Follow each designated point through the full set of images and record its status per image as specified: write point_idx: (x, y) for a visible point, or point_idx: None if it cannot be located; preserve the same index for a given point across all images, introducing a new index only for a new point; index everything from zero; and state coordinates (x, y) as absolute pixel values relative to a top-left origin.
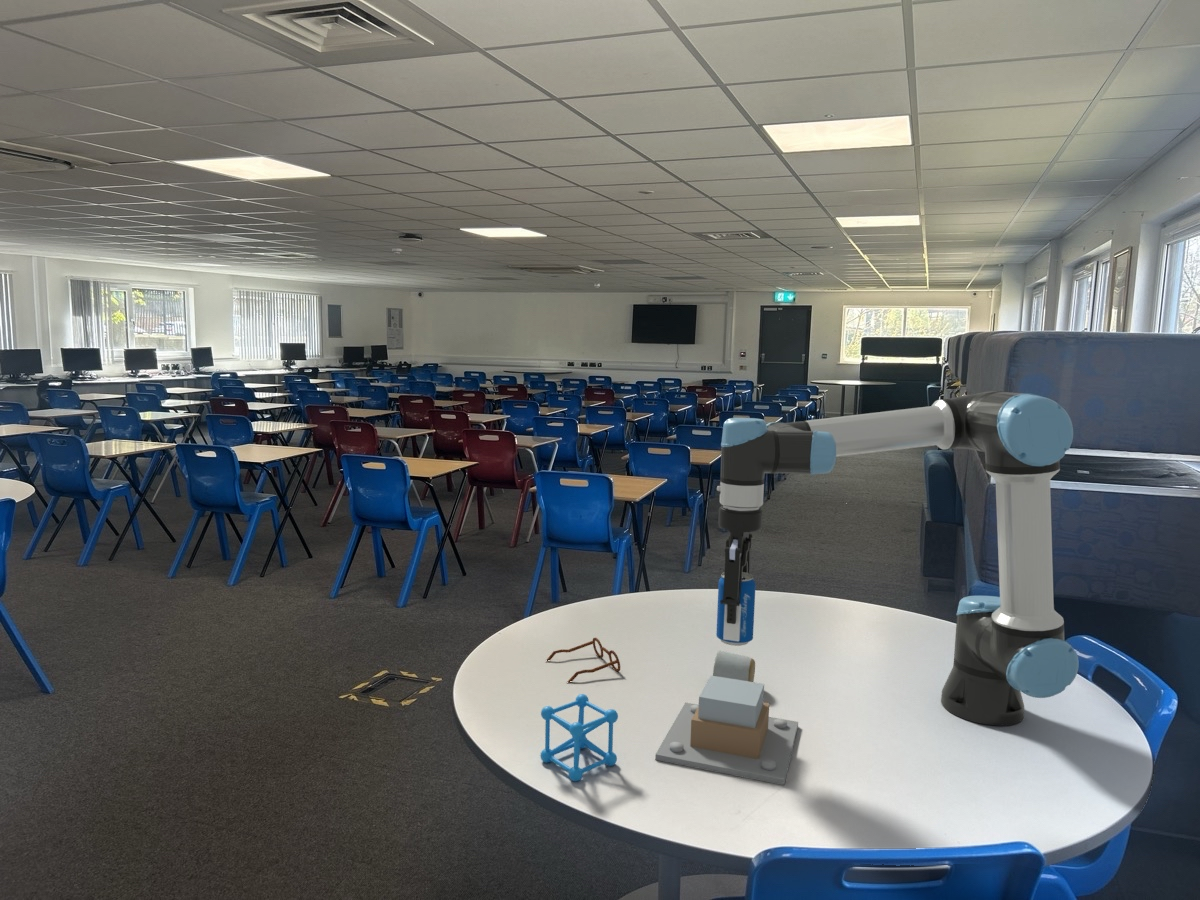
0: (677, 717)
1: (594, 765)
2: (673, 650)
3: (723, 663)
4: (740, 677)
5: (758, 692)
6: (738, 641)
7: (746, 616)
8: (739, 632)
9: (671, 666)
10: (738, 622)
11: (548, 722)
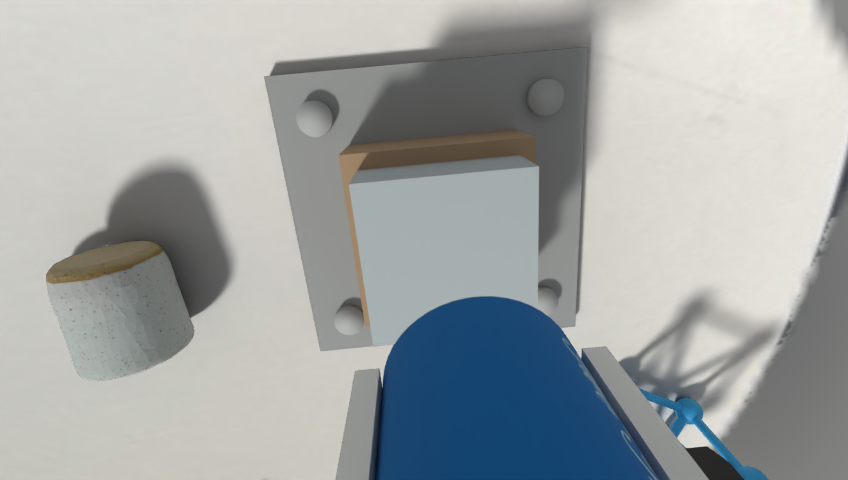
0: None
1: (658, 397)
2: (42, 459)
3: (149, 342)
4: (160, 279)
5: (428, 184)
6: (604, 347)
7: (623, 431)
8: (617, 379)
9: (134, 433)
10: (669, 437)
11: None
